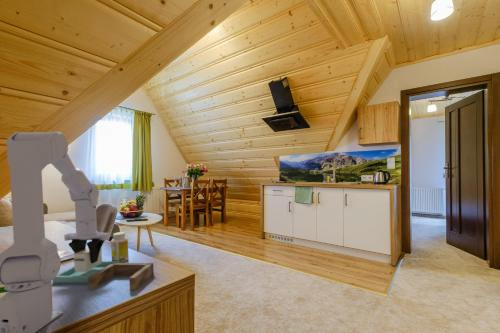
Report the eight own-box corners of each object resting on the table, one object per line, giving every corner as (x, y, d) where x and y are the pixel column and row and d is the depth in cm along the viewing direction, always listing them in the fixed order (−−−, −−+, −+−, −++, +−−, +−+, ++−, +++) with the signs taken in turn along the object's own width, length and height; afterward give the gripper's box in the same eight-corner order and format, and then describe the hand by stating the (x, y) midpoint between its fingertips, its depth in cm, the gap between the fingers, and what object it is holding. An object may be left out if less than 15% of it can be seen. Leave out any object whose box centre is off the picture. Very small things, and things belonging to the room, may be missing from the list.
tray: (91, 284, 75) (91, 277, 75) (52, 283, 76) (52, 277, 76) (119, 266, 87) (119, 260, 87) (85, 266, 89) (85, 260, 89)
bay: (134, 290, 70) (134, 277, 70) (88, 289, 71) (88, 277, 71) (153, 274, 80) (153, 263, 80) (113, 273, 82) (112, 262, 82)
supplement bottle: (130, 257, 96) (129, 230, 96) (125, 262, 91) (123, 234, 91) (115, 258, 96) (114, 231, 96) (108, 264, 90) (107, 235, 90)
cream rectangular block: (84, 272, 78) (83, 254, 78) (72, 272, 78) (72, 254, 78) (102, 262, 85) (101, 246, 85) (91, 262, 86) (90, 246, 86)
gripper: (114, 217, 85) (116, 257, 85) (76, 218, 87) (77, 257, 87) (100, 222, 78) (101, 265, 78) (58, 222, 80) (59, 265, 80)
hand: (88, 261), depth 82 cm, fingers closed on cream rectangular block, 4 cm apart
